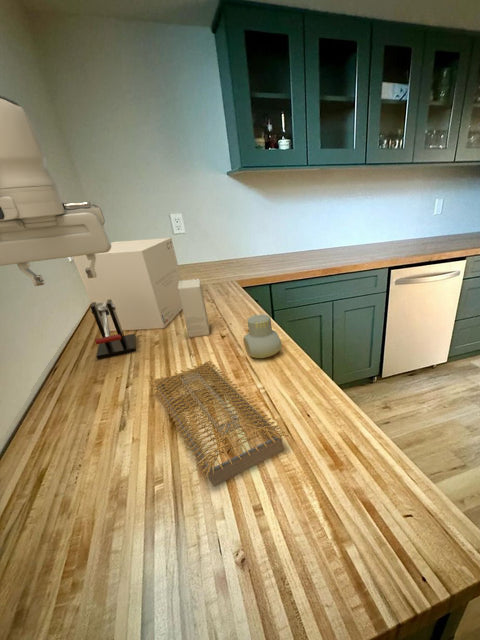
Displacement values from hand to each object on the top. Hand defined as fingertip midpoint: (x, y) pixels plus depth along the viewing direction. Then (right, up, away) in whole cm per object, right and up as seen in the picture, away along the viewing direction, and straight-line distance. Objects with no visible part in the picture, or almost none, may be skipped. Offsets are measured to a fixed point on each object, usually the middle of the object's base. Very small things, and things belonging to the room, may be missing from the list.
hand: (67, 281), depth 69 cm
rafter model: (+30, -28, -2) cm, 41 cm away
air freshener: (+38, -14, +22) cm, 46 cm away
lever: (-6, -6, +24) cm, 25 cm away
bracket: (-7, -11, +31) cm, 34 cm away
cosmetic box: (+16, -6, +38) cm, 42 cm away
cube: (-8, +2, +54) cm, 55 cm away
